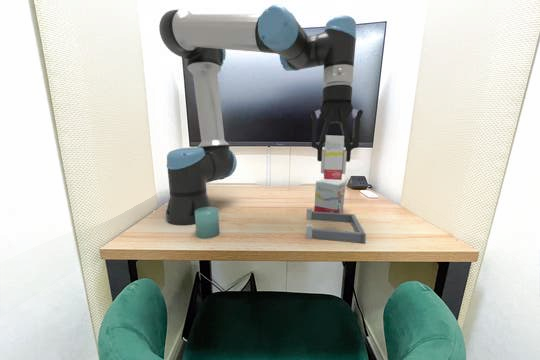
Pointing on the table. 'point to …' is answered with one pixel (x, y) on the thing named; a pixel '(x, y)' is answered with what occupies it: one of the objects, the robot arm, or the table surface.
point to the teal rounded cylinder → (207, 222)
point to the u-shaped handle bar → (335, 235)
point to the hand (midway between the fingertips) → (332, 172)
